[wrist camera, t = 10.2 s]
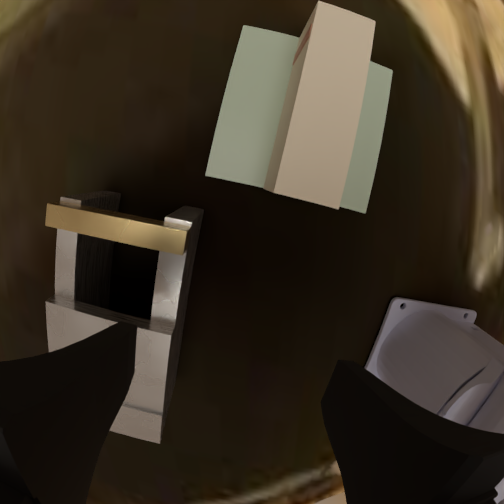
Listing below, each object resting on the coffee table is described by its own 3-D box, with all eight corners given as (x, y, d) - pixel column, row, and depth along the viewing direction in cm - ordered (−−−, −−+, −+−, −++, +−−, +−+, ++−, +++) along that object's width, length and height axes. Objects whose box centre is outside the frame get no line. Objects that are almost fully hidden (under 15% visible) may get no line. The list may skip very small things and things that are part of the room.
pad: (388, 72, 17) (392, 70, 17) (361, 212, 19) (365, 213, 19) (243, 29, 16) (243, 25, 16) (206, 175, 18) (205, 175, 18)
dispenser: (204, 209, 19) (188, 226, 12) (176, 378, 22) (159, 443, 15) (104, 190, 18) (48, 199, 12) (93, 356, 21) (56, 411, 14)
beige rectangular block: (345, 53, 16) (376, 21, 12) (312, 201, 19) (339, 209, 14) (298, 38, 16) (317, 0, 11) (262, 188, 18) (272, 192, 13)
